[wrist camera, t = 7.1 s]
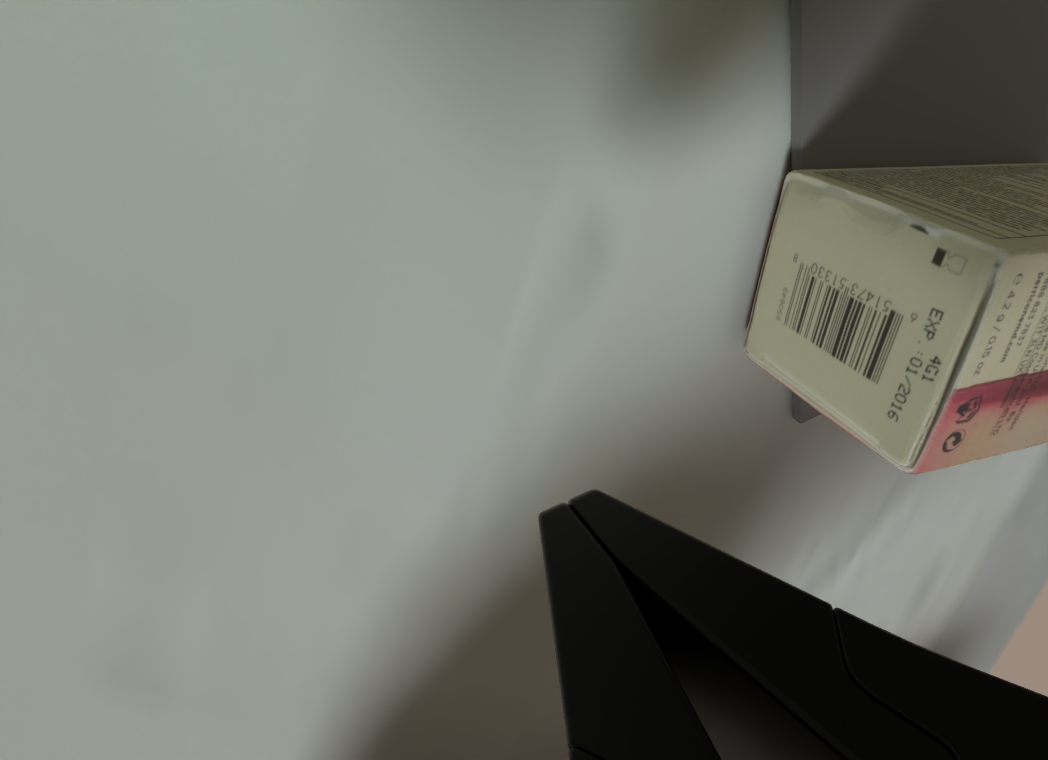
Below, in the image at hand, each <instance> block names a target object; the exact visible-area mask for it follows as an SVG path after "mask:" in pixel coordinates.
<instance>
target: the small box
mask: <svg viewBox="0 0 1048 760" xmlns="http://www.w3.org/2000/svg"><path fill="white" fill-rule="evenodd" d="M743 350H744V353H745V354H746V355H747V356H748V357H749V358H750V359H751V360H753V361H754V362H755V363H756V364H758V365H759V366H760V367H762V368H763V369H764V370H766V371H767V372H768V373H770V374H771V375H772V376H773V377H775V378H776V379H777V380H778V381H780V382H781V383H782V384H784V385H785V386H786V387H788V388H789V389H790V390H791V391H793V392H794V393H795V394H797V395H798V396H799V397H800V398H801V399H803V400H804V401H806V402H807V403H808V404H810V405H811V406H812V407H813V408H814V409H816V410H817V411H819V412H820V413H821V414H823V415H824V416H825V417H827V418H828V419H830V420H831V421H833V422H834V423H835V424H837V425H838V426H839V427H841V428H842V429H844V430H845V431H846V432H848V433H849V434H851V435H852V436H853V437H855V438H856V439H858V440H859V441H861V442H862V443H863V444H865V445H866V446H867V447H869V448H870V449H872V450H873V451H875V452H876V453H877V454H879V455H880V456H882V457H883V458H884V459H886V460H887V461H889V462H890V463H892V464H893V465H895V466H896V467H897V468H899V469H900V470H902V471H904V472H905V473H908V474H919V473H924V472H928V471H932V470H936V469H940V468H944V467H949V466H953V465H957V464H962V463H966V462H970V461H973V460H978V459H982V458H986V457H990V456H995V455H999V454H1003V453H1007V452H1011V451H1015V450H1019V449H1023V448H1028V447H1032V446H1036V445H1039V444H1043V443H1047V442H1048V163H1026V164H985V165H953V166H922V167H882V168H844V169H807V170H794V171H791V172H789V173H788V174H787V175H786V177H785V180H784V185H783V189H782V193H781V197H780V201H779V205H778V209H777V213H776V215H775V219H774V223H773V227H772V231H771V234H770V238H769V243H768V246H767V250H766V254H765V258H764V262H763V266H762V270H761V274H760V278H759V282H758V287H757V291H756V295H755V299H754V303H753V308H752V312H751V316H750V321H749V325H748V328H747V332H746V336H745V340H744V347H743Z"/></svg>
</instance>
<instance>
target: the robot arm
mask: <svg viewBox="0 0 1048 760" xmlns="http://www.w3.org/2000/svg"><path fill="white" fill-rule="evenodd" d="M538 518H539V528H540V535H541V543H542V550H543V558H544V566H545V573H546V581H547V589H548V596H549V604H550V612H551V619H552V627H553V635H554V642H555V650H556V658H557V665H558V673H559V680H560V688H561V696H562V703H563V711H564V719H565V726H566V734H567V742H568V746H569V760H1048V697H1047V696H1044V695H1042V694H1039V693H1037V692H1034V691H1031V690H1029V689H1026V688H1024V687H1021V686H1018V685H1016V684H1013V683H1011V682H1008V681H1006V680H1003V679H1000V678H998V677H995V676H993V675H990V674H988V673H985V672H982V671H980V670H977V669H975V668H972V667H970V666H967V665H965V664H962V663H960V662H957V661H955V660H952V659H950V658H948V657H945V656H943V655H940V654H938V653H935V652H933V651H931V650H928V649H926V648H923V647H921V646H918V645H916V644H914V643H912V642H909V641H907V640H905V639H903V638H901V637H899V636H896V635H894V634H892V633H890V632H888V631H886V630H883V629H881V628H879V627H877V626H875V625H873V624H871V623H868V622H866V621H864V620H862V619H860V618H858V617H856V616H854V615H852V614H850V613H848V612H846V611H844V610H842V609H840V608H835V609H834V610H833V608H832V606H831V604H829V603H827V602H825V601H823V600H821V599H819V598H817V597H815V596H813V595H811V594H809V593H807V592H805V591H803V590H801V589H799V588H797V587H795V586H792V585H790V584H788V583H786V582H784V581H782V580H780V579H778V578H776V577H774V576H772V575H770V574H768V573H766V572H764V571H762V570H760V569H758V568H756V567H754V566H752V565H750V564H748V563H746V562H744V561H742V560H740V559H738V558H735V557H733V556H731V555H729V554H727V553H725V552H723V551H721V550H719V549H717V548H715V547H713V546H711V545H709V544H707V543H705V542H703V541H701V540H699V539H697V538H695V537H693V536H691V535H689V534H687V533H685V532H683V531H681V530H678V529H676V528H674V527H672V526H670V525H668V524H666V523H664V522H662V521H660V520H658V519H656V518H654V517H652V516H650V515H648V514H646V513H644V512H642V511H640V510H638V509H636V508H634V507H632V506H630V505H628V504H626V503H624V502H621V501H619V500H617V499H615V498H613V497H611V496H609V495H607V494H605V493H603V492H601V491H599V490H590V491H587V492H585V493H583V494H581V495H579V496H576V497H574V498H572V499H570V500H569V502H568V504H566V503H561V504H559V505H556V506H554V507H552V508H550V509H548V510H545V511H543V512H541V513H540V514H539V517H538Z"/></svg>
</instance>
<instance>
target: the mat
mask: <svg viewBox="0 0 1048 760" xmlns="http://www.w3.org/2000/svg"><path fill="white" fill-rule="evenodd" d="M791 157H792V171H794V170H807V169H844V168H882V167H922V166H953V165H985V164H1026V163H1048V0H791ZM819 414H821V413H820V412H819V411H817V410H816V409H814V408H813V407H812V406H811V405H810V404H808V403H807V402H806V401H804V400H803V399H801V398H800V397H799V396H798V395H797V394H795V393H794V392H793V418H794V419H795V420H797V421H798V422H799V423H803V422H805V421H807V420H809V419H811V418H813V417H815V416H817V415H819Z"/></svg>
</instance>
